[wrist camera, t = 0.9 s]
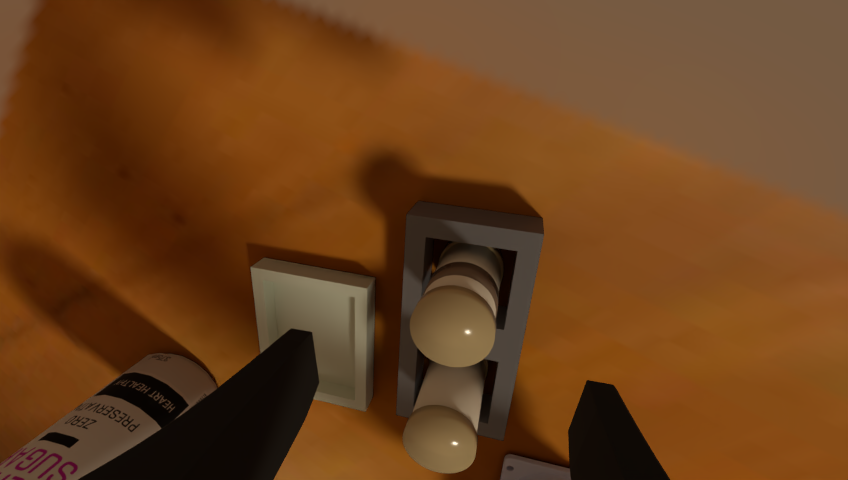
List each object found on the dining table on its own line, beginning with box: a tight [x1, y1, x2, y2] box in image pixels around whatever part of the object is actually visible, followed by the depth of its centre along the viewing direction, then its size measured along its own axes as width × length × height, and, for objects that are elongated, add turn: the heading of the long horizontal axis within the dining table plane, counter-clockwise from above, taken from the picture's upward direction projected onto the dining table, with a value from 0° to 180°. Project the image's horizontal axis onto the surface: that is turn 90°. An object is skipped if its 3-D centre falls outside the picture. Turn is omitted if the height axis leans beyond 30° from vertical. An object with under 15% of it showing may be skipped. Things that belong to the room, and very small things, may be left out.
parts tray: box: [251, 258, 376, 412], centre depth 28 cm, size 10×8×2 cm
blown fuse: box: [410, 241, 504, 367], centre depth 21 cm, size 4×4×7 cm
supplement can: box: [0, 353, 217, 480], centre depth 28 cm, size 8×8×15 cm
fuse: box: [403, 359, 489, 473], centre depth 24 cm, size 4×4×7 cm
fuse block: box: [396, 201, 544, 441], centre depth 24 cm, size 14×7×2 cm, turn 176°
